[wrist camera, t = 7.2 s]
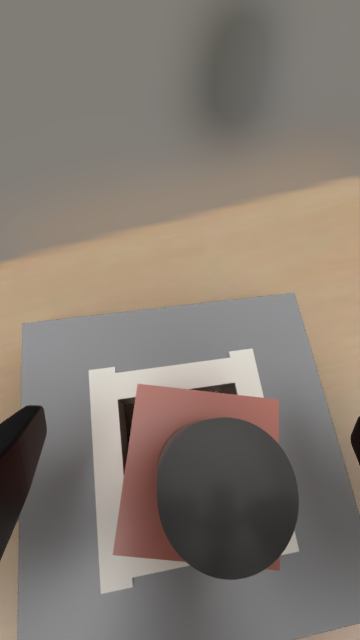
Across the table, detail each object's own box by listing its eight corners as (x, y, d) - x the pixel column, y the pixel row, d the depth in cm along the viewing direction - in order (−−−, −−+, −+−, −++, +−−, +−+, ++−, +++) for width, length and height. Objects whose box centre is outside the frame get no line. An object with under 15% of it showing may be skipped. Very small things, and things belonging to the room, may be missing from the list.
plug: (214, 495, 16) (355, 657, 5) (136, 487, 16) (84, 634, 4) (218, 414, 17) (336, 385, 6) (146, 406, 17) (128, 361, 6)
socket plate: (345, 580, 15) (392, 618, 12) (45, 650, 13) (13, 713, 10) (274, 312, 19) (295, 291, 16) (43, 340, 18) (20, 322, 15)
